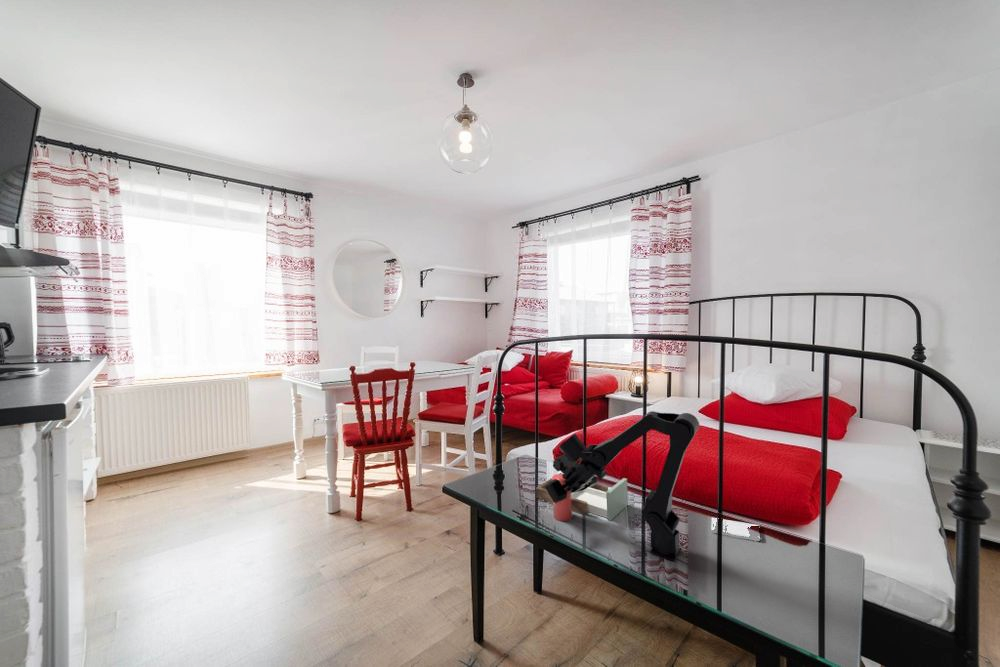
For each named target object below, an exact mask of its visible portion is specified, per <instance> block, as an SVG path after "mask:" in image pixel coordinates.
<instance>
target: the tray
mask: <svg viewBox="0 0 1000 667" xmlns="http://www.w3.org/2000/svg"><path fill="white" fill-rule="evenodd" d="M571 497H572V498H575V499H579V500H582V501H585V502H587V508H588V513H591V514H594V515H597V516H601V517H603V518H605V519H607V520H609V521H612V520H613V519H615V517H616V516H617V515H618V514H620V512H622V511H623V510H624V509H625V508H626V507H627V506H628V504H629V501H628V500H629V496H628V478H625V477H623V478H622V479H620V480H619V481H618V482H617V483H616V484H614V485H613V486H612V487H610V488H608V491H607V492H604V491H600V490H597V489H594V488H590V487H588V488H587V489H585V490H582V491H578V492H573V493H571Z"/></svg>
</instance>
